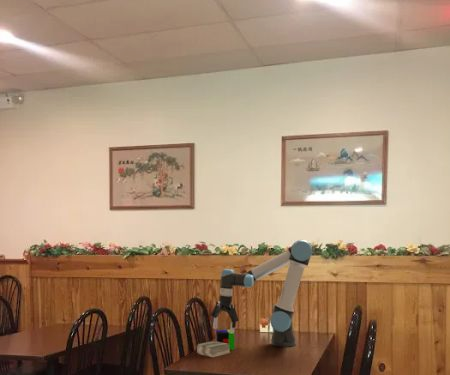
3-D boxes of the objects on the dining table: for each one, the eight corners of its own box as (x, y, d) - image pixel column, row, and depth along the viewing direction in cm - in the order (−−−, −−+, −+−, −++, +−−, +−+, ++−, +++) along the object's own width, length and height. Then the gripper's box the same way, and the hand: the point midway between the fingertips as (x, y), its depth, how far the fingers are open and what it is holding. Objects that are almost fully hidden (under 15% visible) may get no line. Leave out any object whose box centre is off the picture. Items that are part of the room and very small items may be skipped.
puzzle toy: (216, 347, 282) (216, 330, 283) (233, 346, 283) (232, 329, 284) (217, 351, 272) (217, 333, 273) (234, 350, 273) (234, 332, 274)
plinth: (229, 352, 265) (229, 343, 266) (212, 357, 256) (212, 347, 257) (213, 349, 274) (213, 340, 275) (197, 353, 265) (196, 344, 266)
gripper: (207, 292, 288) (204, 327, 286) (236, 298, 270) (234, 335, 267) (216, 292, 293) (213, 326, 291) (245, 298, 275) (243, 334, 272)
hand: (223, 331), depth 279 cm, fingers open, 14 cm apart
